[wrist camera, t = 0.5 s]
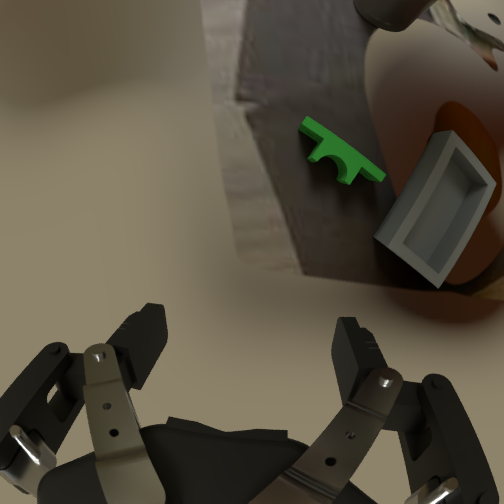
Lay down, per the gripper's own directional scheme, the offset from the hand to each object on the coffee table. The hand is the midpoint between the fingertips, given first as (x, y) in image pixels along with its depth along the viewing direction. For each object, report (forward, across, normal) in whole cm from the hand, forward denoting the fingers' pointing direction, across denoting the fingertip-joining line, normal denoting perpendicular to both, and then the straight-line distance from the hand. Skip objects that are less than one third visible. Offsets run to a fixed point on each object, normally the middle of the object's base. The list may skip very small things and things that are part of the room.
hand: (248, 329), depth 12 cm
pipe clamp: (+25, -8, -8) cm, 27 cm away
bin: (+24, -24, -4) cm, 34 cm away
